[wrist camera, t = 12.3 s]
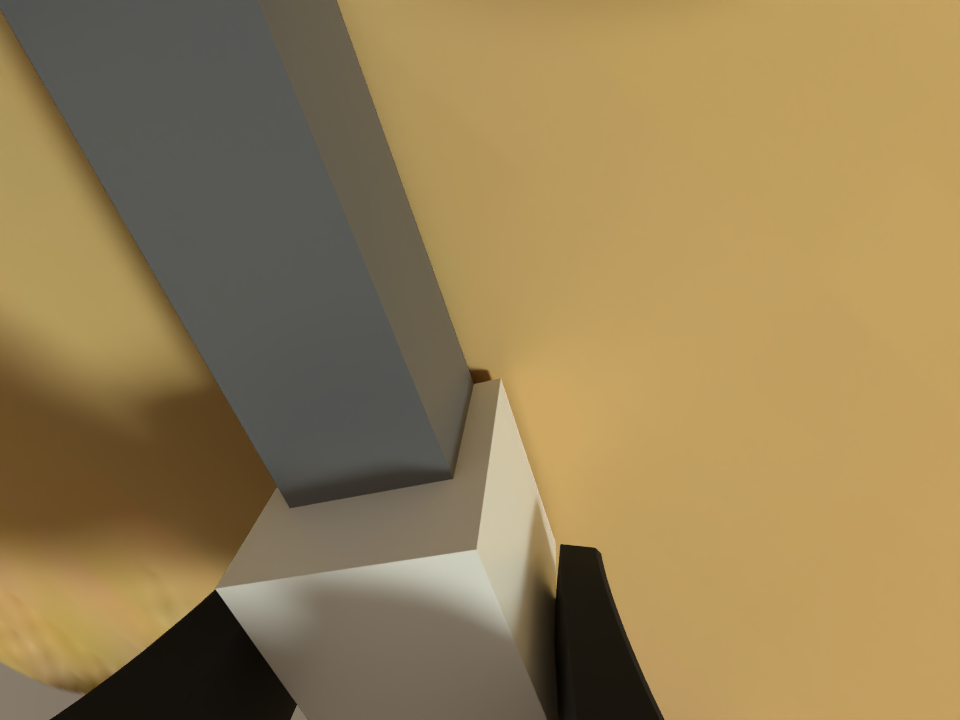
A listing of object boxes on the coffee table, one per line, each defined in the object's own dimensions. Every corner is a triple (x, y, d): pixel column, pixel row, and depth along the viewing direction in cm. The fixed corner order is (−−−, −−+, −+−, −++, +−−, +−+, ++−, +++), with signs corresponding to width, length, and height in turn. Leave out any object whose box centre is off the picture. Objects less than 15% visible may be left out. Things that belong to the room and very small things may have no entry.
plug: (111, 8, 8) (-212, -14, 5) (345, -92, 7) (162, -209, 4) (394, 565, 13) (336, 761, 9) (555, 542, 12) (557, 745, 9)
